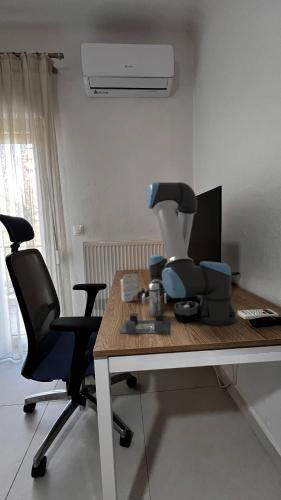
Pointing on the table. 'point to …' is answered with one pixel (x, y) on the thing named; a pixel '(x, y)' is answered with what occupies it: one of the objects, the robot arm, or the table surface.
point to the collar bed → (145, 325)
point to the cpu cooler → (186, 311)
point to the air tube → (154, 299)
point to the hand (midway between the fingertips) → (154, 300)
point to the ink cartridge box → (129, 287)
